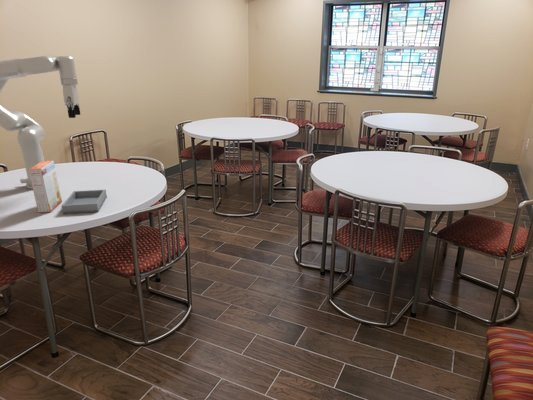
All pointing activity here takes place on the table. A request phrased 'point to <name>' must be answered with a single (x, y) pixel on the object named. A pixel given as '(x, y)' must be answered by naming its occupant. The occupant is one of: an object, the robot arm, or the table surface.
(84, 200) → the tray
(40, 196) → the cracker box
